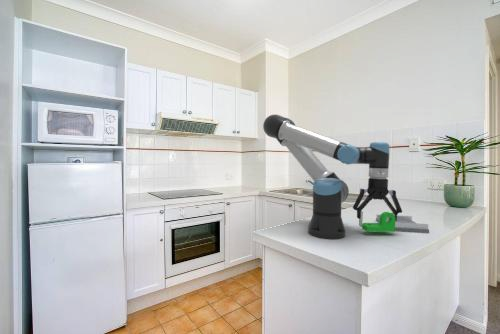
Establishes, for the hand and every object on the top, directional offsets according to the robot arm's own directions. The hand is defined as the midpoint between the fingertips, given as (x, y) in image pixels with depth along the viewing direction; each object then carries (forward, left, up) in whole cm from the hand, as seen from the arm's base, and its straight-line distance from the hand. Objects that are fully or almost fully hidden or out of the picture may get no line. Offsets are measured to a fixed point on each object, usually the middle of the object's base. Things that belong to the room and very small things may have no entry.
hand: (375, 227), depth 103 cm
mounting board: (+14, +13, -2) cm, 20 cm away
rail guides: (+14, +13, -1) cm, 19 cm away
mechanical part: (0, -2, -1) cm, 2 cm away
